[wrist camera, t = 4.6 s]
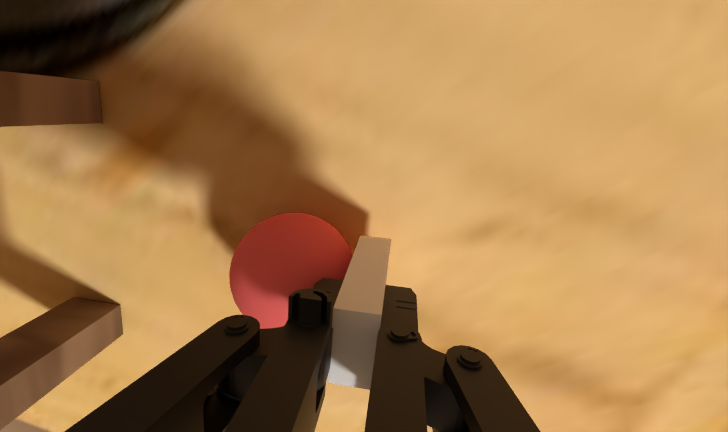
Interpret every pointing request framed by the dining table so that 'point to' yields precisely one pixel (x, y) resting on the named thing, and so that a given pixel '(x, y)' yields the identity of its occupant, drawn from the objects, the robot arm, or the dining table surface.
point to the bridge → (76, 316)
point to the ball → (284, 264)
